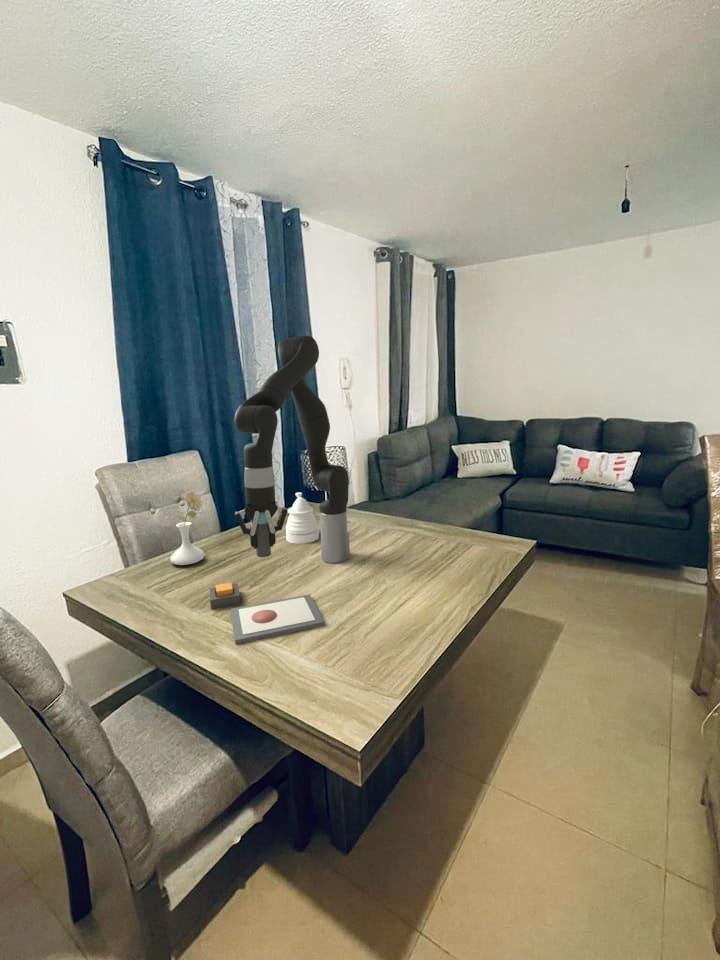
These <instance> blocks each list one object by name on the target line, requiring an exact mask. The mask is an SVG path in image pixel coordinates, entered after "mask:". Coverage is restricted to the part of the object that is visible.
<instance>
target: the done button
mask: <svg viewBox="0 0 720 960" xmlns="http://www.w3.org/2000/svg"><path fill="white" fill-rule="evenodd" d="M232 584H233V583H232V582H226V583H221V584H220V583H219V584H215V587H216V594H217V597H218V596H224V595H229V594H233V589H232Z"/></svg>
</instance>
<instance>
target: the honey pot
mask: <svg viewBox="0 0 720 960" xmlns="http://www.w3.org/2000/svg"><path fill="white" fill-rule="evenodd" d="M302 496H303V493H302V492H298V491H297V492H295V497H296V499H295V501H294V502H293V504H292V507H290V508H288V509H287V514H289V516H288V517H287V522H286V525H285V537H286V538H285V539H286V541H287V542H289V543H292V544H298V545H301V544H310V543H313V542H315V540H316V541H317V540H318V539H319V537H320V533H319V531H320V530H319V524H318V522H317V518H316V516H315V515H314V512H313V511H314V508H313V507H312V506H311V505H310V504H309V503H308V501H307V499H305V498H304V497H302Z"/></svg>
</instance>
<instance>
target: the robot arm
mask: <svg viewBox="0 0 720 960" xmlns="http://www.w3.org/2000/svg"><path fill="white" fill-rule="evenodd" d="M319 350H320V349H319V345H318V342H317V341H316V339H315V338H314V337H313V336H309V335H299V336H294V337H293V336H292V337H288V338H283V339H281V340H280V341H279V342H278V346H277V354H278V359H279V362H280V366H281V368H279V369H277V370H276V371H274V372H273V373H272V374H271V375H270V376H269V377H267V379H266V380H265V381H264V382H263V383H262V385H261V386H260V388H259V390H258V391H257V392H256V393H254V394H253V395H251V396H250V397H249V398H247V399H246V400H244V402H243V403H242V404H240V405H239V406H238V408H237V410H236V411H235V414H234V418H233V420H234V426H235V428H236V429H237V430H238V432H240V433H243V434H249V435H250V434H253V435H254V434H255V435H257V434H258V436H257V440H256V442H251V443H248V444H246V445H244V448H243V459H244V460H243V461H244V462H243V464H244V474H243V476H244V478H243V479H244V480H243V481H244V494H245V495H244V496H245V506H244V508H243V509H242V510H239V511H237V510H236V511H235V512H234V517H235V519H236V521H237V523H238V525H239V527H240V529H241V531H242V534H244V535H249V541H250V546H251V548H253V550H256V549H257V545H256V535H255V531H256V527H257V522H258V517H259V513H260V512H265V515H266V518H267V522H268V525H269V528H270V546H271V548H272V547H274V545H276V533H277V532H278V531H282V529H283V526H284V524H285V520H286V517H287V514H288V509H287V508H286V507H285V506H282V507H281V506H278V504H277V503H276V488H275V487H276V485H275V483H276V479H275V473H274V472H275V471H274V466H273V447H274V441H275V436H276V432H277V427H278V424H279V422H278V420H279V419H278V415H277V413H276V412H277V411H279V410H280V409H281V408H282V406H283V404H284V402H285V401H286V399H287V397H288V396H289V394H290V393H291V396H292V399H293V403H294V406H295V409H296V414H297V419H298V422H299V426H300V429H301V432H302V435H303V438H304V443H305V445H306V450H307V454H308V459H309V466H310V471H311V477H312V481H313V484H314V485H315V488H317V489H318V490H320V491H323V492H328V499H327V500H324V501H321V502H320V503H319V523H320V524H319V525H320V528H319V530H320V544H321V545H320V546H321V551H320V552H321V553H320V554H321V559H322V561H323V562H325V563H330V564H331V563H332V564H333V563H335V564H336V563H342V562H345V561H348V560H350V559H351V555H350V554H351V552H350V551H351V549H350V548H351V547H350V533H349V531H348V515H347V514H348V513H347V510H348V509H347V507H348V503H349V486H350V485H349V484H350V481H349V479H350V478H349V474H348V473H349V472H348V471H347V468H346V467H345V466H342V465H338V464H336V465H335V464H330V463H329V460H328V457H327V451H326V445H327V442H328V438H329V435H330V430H331V422H330V419H329V415H328V412H327V408H326V405H325V404H324V402H323V401H322V400H321V399H320V397H319V396H318V395H317V394H316V393H315V392H314V391H313V390H312V389H311V387H310V386H308V384H307V383H306V381H305V379H304V377H305V376H306V374H308V373H309V372H310V371H311V370H312V369H313V368H314V367H315V366H316V364H317V362H318V360H319V357H320V351H319ZM276 512H277V514H278V518H277V522H276V524H275V525H274V522H273V517H274V515H276ZM245 515H247V516H248V518H249V519H250V526H249V527H247V526H246V523H245V522H244V519H245Z"/></svg>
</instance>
